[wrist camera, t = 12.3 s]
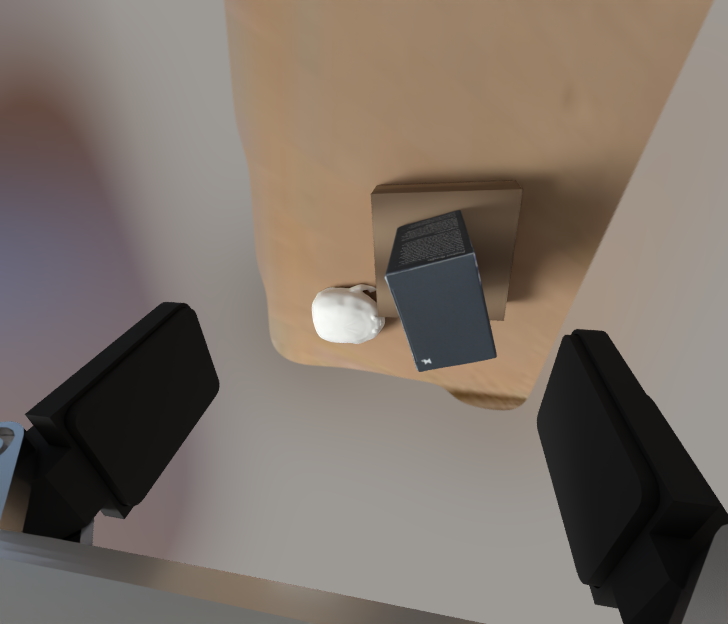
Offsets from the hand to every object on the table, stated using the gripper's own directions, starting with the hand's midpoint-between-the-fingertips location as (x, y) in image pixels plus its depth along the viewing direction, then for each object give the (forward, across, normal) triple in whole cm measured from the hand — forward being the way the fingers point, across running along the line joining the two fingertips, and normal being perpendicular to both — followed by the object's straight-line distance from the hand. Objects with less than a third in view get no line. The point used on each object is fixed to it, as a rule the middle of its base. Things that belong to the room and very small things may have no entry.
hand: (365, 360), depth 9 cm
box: (+23, -2, +8) cm, 25 cm away
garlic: (+27, +7, +16) cm, 32 cm away
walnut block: (+27, -3, +8) cm, 28 cm away
